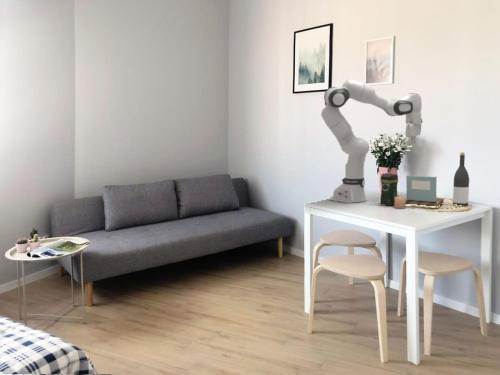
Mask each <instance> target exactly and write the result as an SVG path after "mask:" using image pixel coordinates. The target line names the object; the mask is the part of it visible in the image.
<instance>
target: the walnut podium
mask: <svg viewBox="0 0 500 375" xmlns="http://www.w3.org/2000/svg"><path fill="white" fill-rule="evenodd" d="M444 201H445V200H444V198H439V197H436V202H432V201H419V200H407V199H406V204H417V205H426V206H436V207H437V206H439V205H441V204H442V203H443V204H444ZM406 204H405V205H406ZM443 204H442V205H443ZM442 205H441V206H442Z"/></svg>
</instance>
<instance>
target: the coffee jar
mask: <svg viewBox="0 0 500 375" xmlns="http://www.w3.org/2000/svg"><path fill="white" fill-rule="evenodd" d="M398 182H399V176H398V174H396V173H391V172H387V173H386V172H385V173H382V174H381V175H380V183H381V184H380V185H381V191H380V205H383V206H388V207H389V206H393V207H394V202H395V197H396V196H398Z"/></svg>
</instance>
